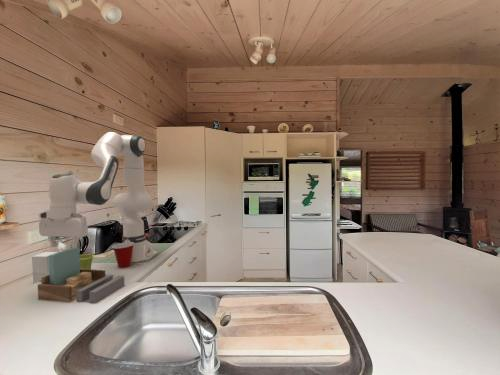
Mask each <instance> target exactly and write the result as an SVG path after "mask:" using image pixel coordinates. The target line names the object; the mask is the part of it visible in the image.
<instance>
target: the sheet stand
mask: <svg viewBox="0 0 500 375" xmlns="http://www.w3.org/2000/svg"><path fill="white" fill-rule="evenodd" d="M123 287H125V276H124V275H117V277H114V276H113V275H112V274H107V275H105V277H103V278H101V279H99V280H97V281H95V282H93V283H91V284H89V285H87V286H85V287H83V288H81V289H79V290H77V291H76V299H75V300H76V303H77V302H78V303H88V304H96V303H98V302H100V301H101V300H103V299H105V298H106V297H108V296H109V295H112V294H113V293H115V292H116V291H118V290H119V289H122V288H123Z"/></svg>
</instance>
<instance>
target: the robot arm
mask: <svg viewBox="0 0 500 375" xmlns="http://www.w3.org/2000/svg"><path fill="white" fill-rule="evenodd" d="M146 144H147V143H146V140H145V139H144V137H143V136H140V135H137V134H134V135H133V134H123V135H122V134H121V135H120V134H119V133H118V132H114V131H108V132H106V133H104V134H103V135H102V136H101V137H100V138H99V140H97V141H96V143H95V145H94V146H93V147H92V150H91V153H90V156H91V159H92V161H93V163H95V164H96V165H97V166H98V167H100V168H102V170H101V173H100V176H99V179H98V180H95V181H81V180H79V179H78V178H76V177H75V175H74V174H72V173H61V174H60V173H59V174H54V175H52V176H51V178H50V181H49V188H48V189H49V190H48V193H49V194H48V196H49V199H50V204H49V209H48V210H45V211H41V212H40V213H39V214H38V218H39V221H38V232H39V234H40V236H41V237H47V239H48V241H49V243H50V247H51V248H57V247H58V245H59V242H57V240H56V238H57V237H60V238H61V237H62V238H72V243H70V245H69V246H70V249H71V248H77V247H78V243H79V241H80V239H81V238H84V237H86V236H88V235H89V234H88V233H89V230H88V222H87V218H86V216H85V215H84V214H82V213H77V204H82V205H96V206H102V205H105V204H106V203H107V202H108V201H109V200H110V198H111V194H112V189H113V184H114V181H115V178H116V176H117V172H118V170H119V164H120V163H119V159H118V157H119V156H123V157H124V158H123V164H122V165H123V166H122V167H123V169H122V170H123V171H122V182H123V184H124V185H125V186H126V188H127V189H128V190H127V191H128V192H122V193H118V194H116V195H115V196H114V198H113V201H112V202H113V203H112V204H113V207H114V208H115V209H116V210H117V211H118V213H119V215H120V218H121V221H122V229H123V230H122V232H123V233H122V243H125V242H134V245H133V250H132V258H131V263H137V262H143V261H149V260H151V259H152V258H153V257H154V256H156V255H157V254H158V251H157V250H154V245H153V243H152V242H150V241H148V240H147V238H148V237H149V233H145V223H144V220H143V219H142V218H141V217H140V214H139V213H142V212H147V211H150V210H151V209H152V207H153V204H154V200H153V197H152V195H151V194H149V192H148V191H147V188H146V186H145V164H144V163H145V162H144V157H143V156H144V155H143V154H144V153H145V151H146V147H147V146H146Z"/></svg>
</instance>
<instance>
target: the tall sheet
mask: <svg viewBox="0 0 500 375" xmlns="http://www.w3.org/2000/svg"><path fill="white" fill-rule="evenodd" d="M57 252H58V253H55V254H52V255H49V279H50V285H59V286H60V285H62V284H65V283H67V280H66V279H68V278H70V277H72V276H75V275H77V274H79V273H80V259H79V255H80V247H78V246H77V248H71V247H70V248H68V249H65V250H61V251H57Z"/></svg>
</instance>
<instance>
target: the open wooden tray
mask: <svg viewBox="0 0 500 375" xmlns="http://www.w3.org/2000/svg"><path fill="white" fill-rule="evenodd" d="M82 272H91V277H92V281H97V280H99V279H101V278H103V277H105V276H106V270H102V269H91V270H90V269H80V273H82ZM40 282H41V283H39V284H37V300H40V301H41V300H42V301H51V302H62V303H63V302H64V303H72V302H73V301H75V300H76V296H74V297H72V289H71V286H64V285H66V284H67V283H65V284H62V285H60V286H59V285H50V279H49V275H47V276H44V277H42V278H41V281H40Z"/></svg>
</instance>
